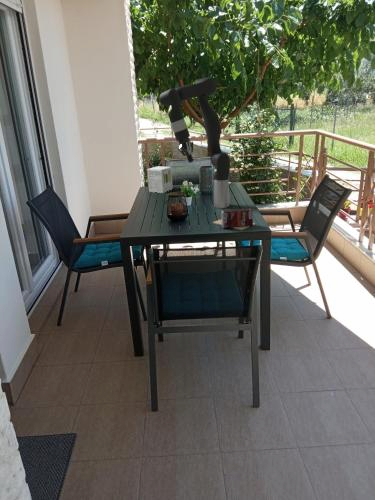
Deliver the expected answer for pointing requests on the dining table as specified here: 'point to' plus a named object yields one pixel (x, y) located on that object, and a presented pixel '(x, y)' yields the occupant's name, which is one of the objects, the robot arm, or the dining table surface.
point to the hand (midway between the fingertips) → (191, 161)
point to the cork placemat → (231, 227)
